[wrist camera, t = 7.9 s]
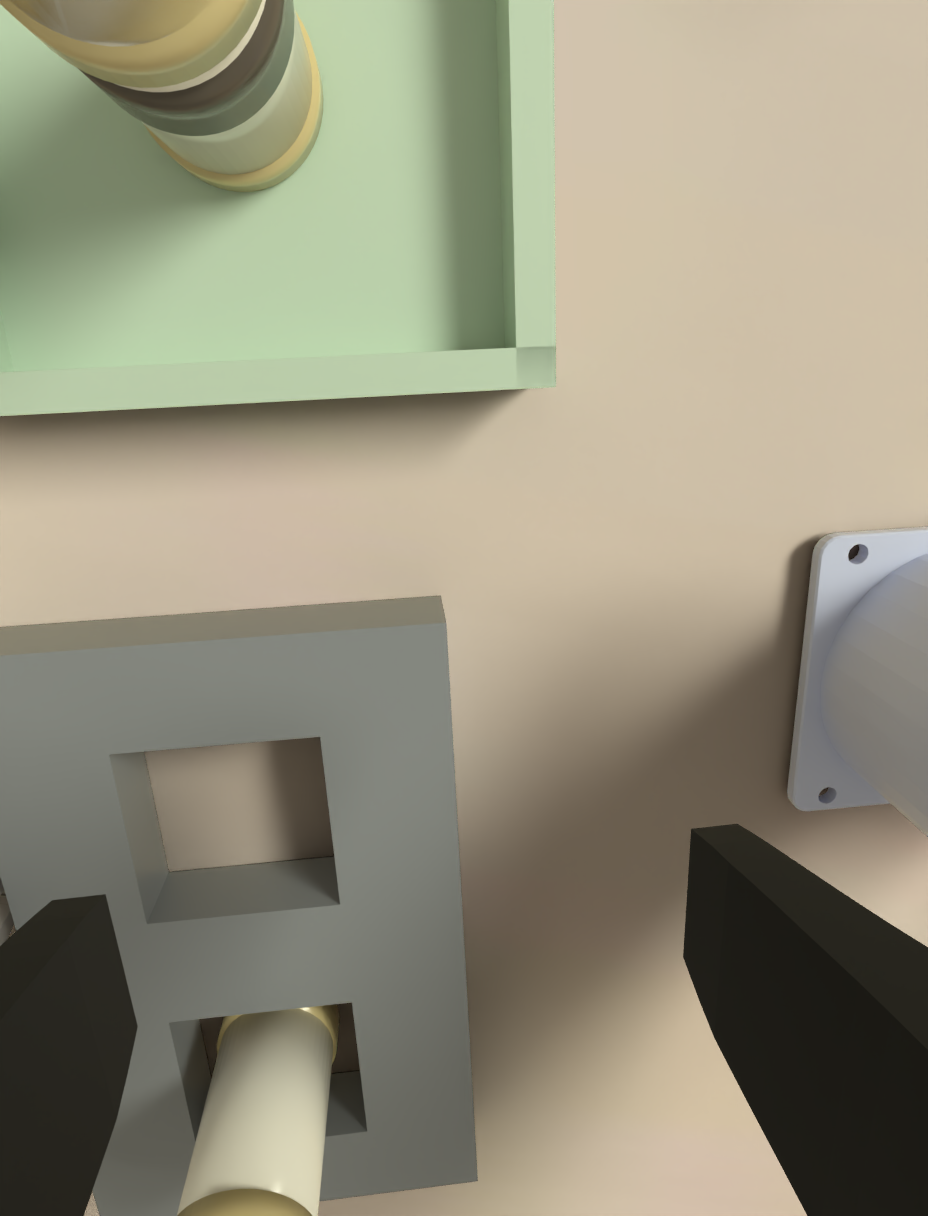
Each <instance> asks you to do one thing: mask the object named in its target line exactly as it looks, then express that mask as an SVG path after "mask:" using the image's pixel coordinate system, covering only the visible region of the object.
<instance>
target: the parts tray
mask: <svg viewBox="0 0 928 1216" xmlns="http://www.w3.org/2000/svg"><path fill="white" fill-rule="evenodd" d="M293 4H294V8H295V11H296V12H297V14H298V16H299V18H300V19H301V21H302V23H303V24H304V27H305V29H306V31H307V33H308V36H309V38H310V41H311V44H312V48H313V51H314V54H315V57H316V61H317V64H318V68H319V71H320V75H321V81H322V86H323V98H324V101H323V116H322V123H321V127H320V131H319V134H318V137H317V140H316V142H315V145H314V147H313V149H312V151H311V152H310V154H309V156H308V157H307V159H306V160H305V161H304V163H303V164H302V165H301V167H300V168H299V169H298V170H296V171H295V172H294V173H293V174H292V175H291V176H290V177H288V178H287V179H285V180H284V181H283V182H281V183H279V184H277V185H275V186H273V187H270V188H267V189H264V190H259V191H254V192H235V191H228V190H224V189H220V188H217V187H214V186H212V185H209V184H207V183H205V182H203V181H201V180H200V179H198V178H196V177H195V176H193V175H192V174H191V173H189V172H188V171H187V170H185V169H184V168H183V167H182V166H181V165H180V164H179V163H177V162H176V161H175V160H174V159H173V158H172V157H171V156H170V155H169V154H168V153H167V152H165V151H164V150H163V149H162V148H161V147H160V146H159V144H158V143H157V142H156V141H155V140H154V138H153V137H152V136H151V134H150V133H149V131H148V130H147V128H146V127H145V125H144V124H143V123H142V122H141V121H140V120H138V119H136V118H135V117H133V116H132V115H130V114H129V113H128V112H126V111H125V110H124V109H122V108H121V107H120V106H119V105H117V104H116V103H115V102H114V101H113V100H112V99H111V98H110V97H109V96H108V95H106V94H105V93H104V92H103V91H102V90H101V89H100V88H99V87H98V86H97V85H95V84H94V83H93V82H92V81H91V80H90V79H89V78H88V77H87V76H85V75H84V74H83V73H82V72H81V71H80V70H79V69H78V68H77V67H75V66H73V65H71V64H70V63H68V62H67V61H65V60H64V59H63V58H61V57H60V56H59V55H57V54H56V53H55V52H53V51H52V50H51V49H50V48H48V47H47V46H46V45H45V44H44V43H43V42H42V41H41V40H39V39H38V38H37V37H36V36H35V35H34V34H33V33H32V32H30V31H29V30H28V29H27V28H26V27H25V26H24V25H23V24H21V23H20V22H19V21H18V20H17V19H16V18H15V17H14V16H12V15H11V14H10V13H9V12H8V11H7V10H6V9H5V8H4V7H3V6H2V5H1V4H0V416H12V415H31V414H50V413H70V412H89V411H108V410H127V409H146V408H165V407H185V406H204V405H223V404H242V403H261V402H280V401H299V400H319V399H338V398H357V397H376V396H395V395H414V394H434V393H453V392H472V391H491V390H510V389H529V388H549V387H556V310H555V138H554V0H293Z"/></svg>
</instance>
